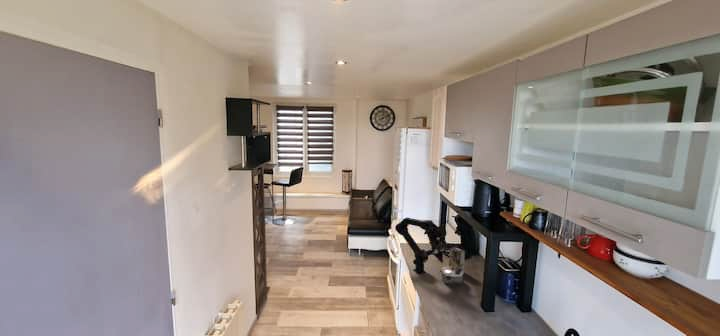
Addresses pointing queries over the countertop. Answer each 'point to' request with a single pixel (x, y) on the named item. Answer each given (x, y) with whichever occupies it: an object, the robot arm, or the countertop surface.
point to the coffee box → (457, 258)
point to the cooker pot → (451, 280)
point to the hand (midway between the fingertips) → (442, 262)
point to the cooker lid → (452, 271)
